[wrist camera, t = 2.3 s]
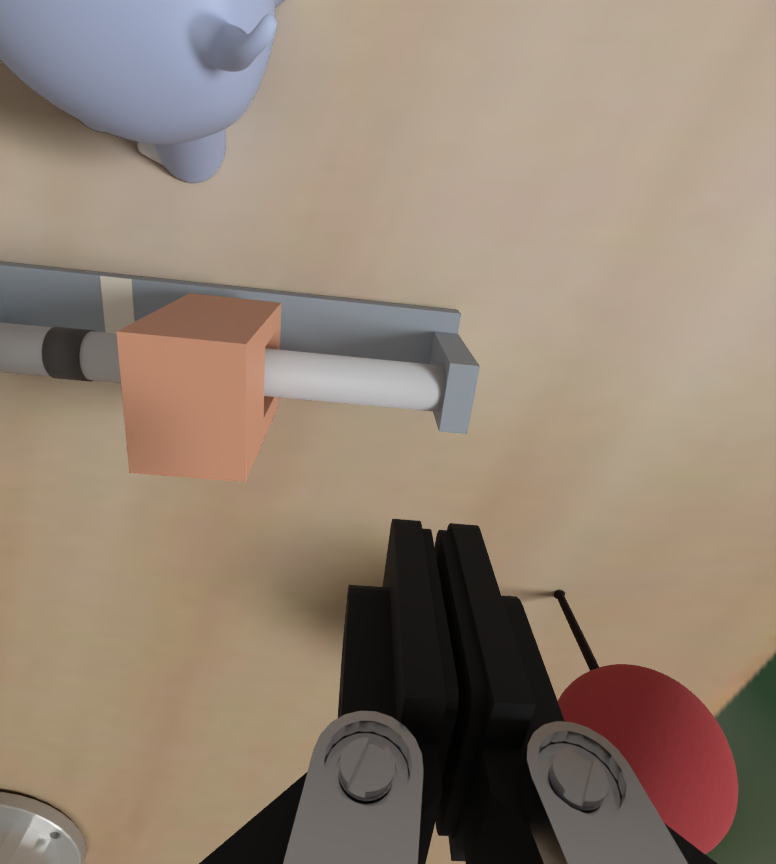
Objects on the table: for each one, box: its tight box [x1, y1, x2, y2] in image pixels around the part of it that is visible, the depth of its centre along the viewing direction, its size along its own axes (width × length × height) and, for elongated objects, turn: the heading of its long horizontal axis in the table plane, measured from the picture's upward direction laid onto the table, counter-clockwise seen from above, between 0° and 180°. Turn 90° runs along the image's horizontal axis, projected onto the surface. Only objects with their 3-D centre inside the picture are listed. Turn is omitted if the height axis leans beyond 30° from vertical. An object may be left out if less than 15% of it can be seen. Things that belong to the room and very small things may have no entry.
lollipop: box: [554, 591, 738, 854], centre depth 28 cm, size 8×8×15 cm
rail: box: [0, 261, 480, 434], centre depth 24 cm, size 5×23×7 cm, turn 84°
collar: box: [116, 293, 281, 482], centre depth 21 cm, size 5×4×8 cm
